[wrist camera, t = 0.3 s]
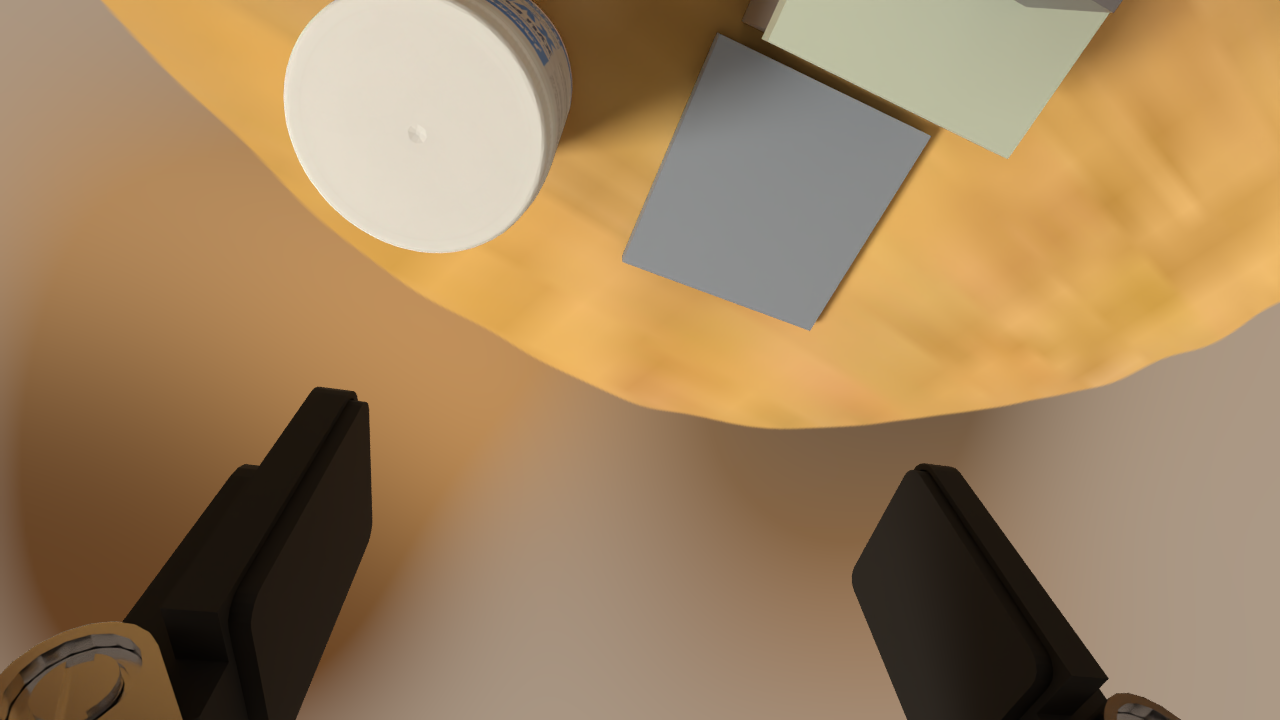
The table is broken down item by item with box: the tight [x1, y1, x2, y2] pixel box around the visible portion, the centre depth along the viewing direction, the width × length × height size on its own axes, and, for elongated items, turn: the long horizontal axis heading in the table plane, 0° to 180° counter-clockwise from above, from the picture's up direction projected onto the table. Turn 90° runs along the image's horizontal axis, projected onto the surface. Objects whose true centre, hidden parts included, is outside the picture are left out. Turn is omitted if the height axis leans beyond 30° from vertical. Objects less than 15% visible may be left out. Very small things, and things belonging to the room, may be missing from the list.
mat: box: [622, 33, 931, 331], centre depth 39 cm, size 14×14×1 cm
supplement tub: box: [284, 0, 572, 253], centre depth 28 cm, size 10×10×15 cm
